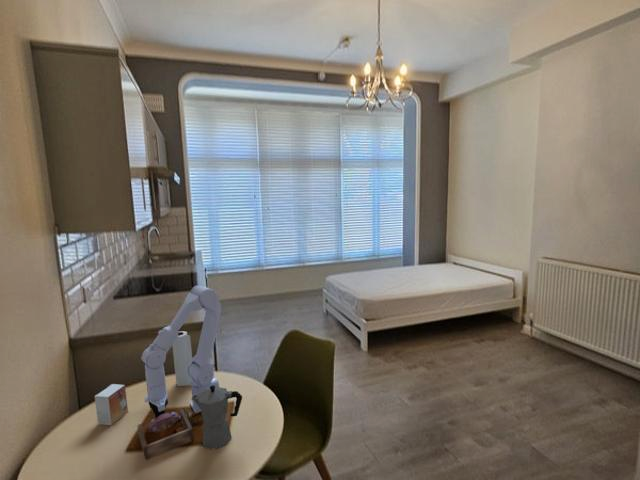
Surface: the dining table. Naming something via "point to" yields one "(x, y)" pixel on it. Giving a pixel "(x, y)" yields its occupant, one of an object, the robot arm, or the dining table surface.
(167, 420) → the video game controller
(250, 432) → the dining table surface
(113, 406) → the small box
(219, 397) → the coffeepot
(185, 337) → the paper towel roll
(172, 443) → the box
